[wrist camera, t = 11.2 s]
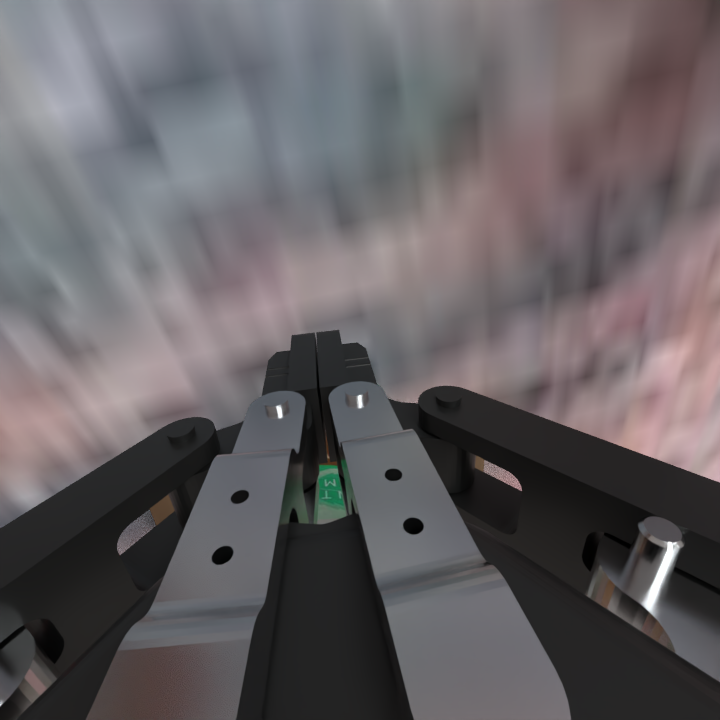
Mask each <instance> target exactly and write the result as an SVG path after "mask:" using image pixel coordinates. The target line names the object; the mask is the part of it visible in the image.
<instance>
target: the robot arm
mask: <svg viewBox="0 0 720 720" xmlns="http://www.w3.org/2000/svg"><path fill="white" fill-rule="evenodd" d="M317 350H318V352H317ZM325 429H326V431H325ZM326 436H327V443H328V450H329V457H330V462H336V461H337V467H338V475H339V482H340V488H341V493H342V498H343V503H344V507H345V512H346V516H345V517H343V518H340V519H337V520H335V521H332V522H329V523H326V524H317V520H318V504H319V480H318V476H319V464H323V463H328V460H327V445H326ZM476 456H478V457H480V458H482V459H484V460H486V461H488V462H490V463H492V464H495V465H497V466H499V467H501V468H503V469H505V470H507V471H509V472H510V473H512V474H513V475H514V476H515V477H516V478H517V479H518V481H519V482H520V484H521V487H522V491H520V490H518V489H516V488H514V487H512V486H510V485H508V484H506V483H504V482H502V481H500V480H498V479H496V478H494V477H492V476H490V475H488V474H486V473H484V472H482V471H480V470H478V469H476V468H475V460H476ZM167 495H169V497H170V500H171V502H172V505H173V507H174V510H175V511H174V512H173V513H172V514H170V515H169V516H168V517H167V518H165V519H164V520H163V521H162V522H160V523H159V524H158V525H157V526H156V527H154V528H153V529H152V530H151V531H149V532H148V533H147V534H146V535H145V536H143V537H142V538H141V539H140V540H138V541H137V542H136V543H135V544H134V545H132V546H131V547H130V548H129V549H127V550H126V551H125V552H124V553H123V554H121V555H119V553H118V551H117V542H118V539H119V537H120V535H121V533H122V532H123V531H124V529H125V528H126V527H127V526H128V525H129V524H131V523H132V522H133V521H134V520H136V519H137V518H138V517H140V516H141V515H142V514H144V513H145V512H146V511H147V510H149V509H150V508H151V507H153V506H154V505H155V504H157V503H158V502H159V501H160V500H162V499H163V498H164V497H166V496H167ZM0 720H720V483H719V482H716V481H714V480H711V479H708V478H705V477H703V476H700V475H697V474H695V473H692V472H689V471H686V470H684V469H681V468H678V467H676V466H673V465H670V464H667V463H665V462H662V461H659V460H657V459H654V458H651V457H648V456H646V455H643V454H640V453H638V452H635V451H632V450H629V449H627V448H624V447H621V446H618V445H616V444H613V443H610V442H608V441H605V440H602V439H599V438H597V437H594V436H591V435H589V434H586V433H583V432H580V431H578V430H575V429H572V428H570V427H567V426H564V425H561V424H559V423H556V422H553V421H551V420H548V419H545V418H542V417H540V416H537V415H534V414H531V413H529V412H526V411H523V410H521V409H518V408H515V407H512V406H510V405H507V404H504V403H502V402H499V401H496V400H493V399H491V398H488V397H485V396H483V395H480V394H477V393H474V392H472V391H469V390H466V389H463V388H460V387H455V386H439V387H434V388H431V389H428V390H426V391H424V392H423V393H422V394H421V395H420V397H419V400H418V404H417V403H404V402H398V401H394V400H391V399H389V398H387V396H386V394H385V392H384V390H383V389H382V388H381V387H380V386H378V385H377V383H376V379H375V376H374V373H373V370H372V367H371V364H370V360H369V358H368V354H367V351H366V348H364V347H363V346H361V345H360V344H359V343H349V344H342V343H341V338H340V333H339V330H333V331H324V332H317V345H316V338H315V333H307V334H299V335H292V338H291V350H290V351H282V352H276V353H275V354H274V355H273V356H272V357H271V358H270V359H269V361H268V366H267V371H266V378H265V382H264V387H263V392H262V396H261V397H259V398H258V399H256V400H255V401H254V402H253V403H252V404H251V405H250V406H249V408H248V411H247V414H246V416H245V419H244V421H243V422H241V423H238V424H236V425H233V426H230V427H227V428H224V429H221V430H218V431H216V429H215V426H214V424H213V422H212V421H211V420H209V419H206V418H201V417H192V418H186V419H182V420H178V421H175V422H173V423H171V424H168V425H167V426H165V427H163V428H161V429H160V430H158V431H157V432H155V433H153V434H152V435H150V436H149V437H147V438H145V439H144V440H142V441H141V442H139V443H137V444H136V445H134V446H132V447H131V448H129V449H128V450H126V451H124V452H123V453H121V454H120V455H118V456H116V457H115V458H113V459H112V460H110V461H108V462H107V463H105V464H103V465H102V466H100V467H99V468H97V469H95V470H94V471H92V472H91V473H89V474H87V475H86V476H84V477H83V478H81V479H79V480H78V481H76V482H75V483H73V484H71V485H70V486H68V487H66V488H65V489H63V490H62V491H60V492H58V493H57V494H55V495H54V496H52V497H50V498H49V499H47V500H46V501H44V502H42V503H41V504H39V505H38V506H36V507H34V508H33V509H31V510H29V511H28V512H26V513H25V514H23V515H21V516H20V517H18V518H17V519H15V520H13V521H12V522H10V523H9V524H7V525H5V526H4V527H2V528H0Z"/></svg>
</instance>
